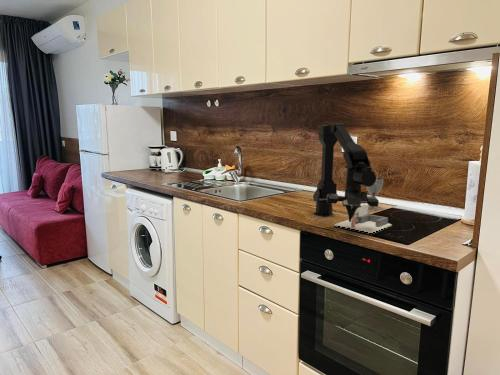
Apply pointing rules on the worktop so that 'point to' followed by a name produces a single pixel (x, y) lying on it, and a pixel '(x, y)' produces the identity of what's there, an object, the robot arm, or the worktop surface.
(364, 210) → the pepper shaker
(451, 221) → the worktop surface
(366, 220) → the lock base
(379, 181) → the wine glass
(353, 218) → the locking bar
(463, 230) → the worktop surface
